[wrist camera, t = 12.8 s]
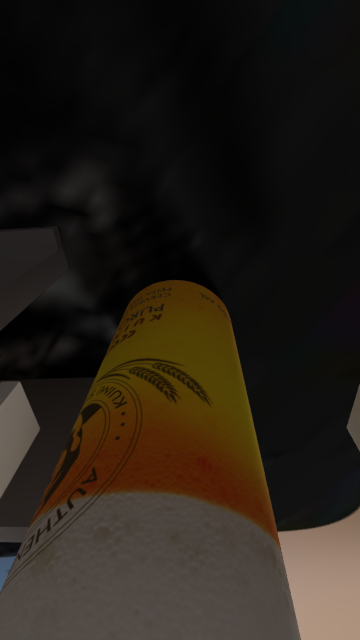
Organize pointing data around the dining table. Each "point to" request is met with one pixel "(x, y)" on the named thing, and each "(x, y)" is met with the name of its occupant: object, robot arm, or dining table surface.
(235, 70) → the dining table surface
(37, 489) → the chute
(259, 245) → the dining table surface
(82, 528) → the beer can
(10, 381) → the robot arm
